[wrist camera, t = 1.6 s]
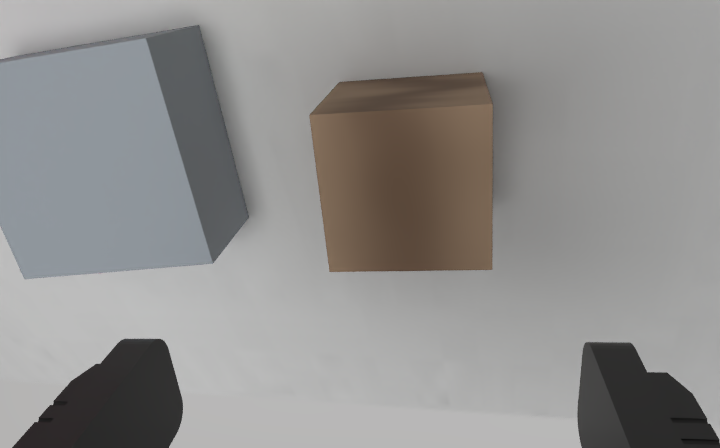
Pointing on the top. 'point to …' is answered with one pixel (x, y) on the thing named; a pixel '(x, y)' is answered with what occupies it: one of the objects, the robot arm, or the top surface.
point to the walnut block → (406, 173)
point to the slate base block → (115, 157)
